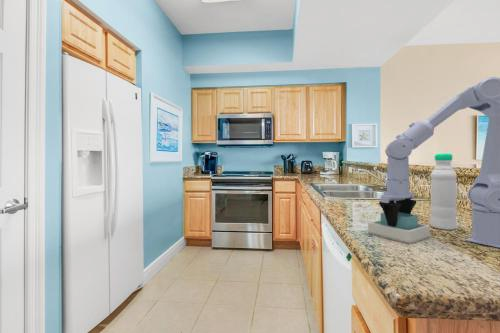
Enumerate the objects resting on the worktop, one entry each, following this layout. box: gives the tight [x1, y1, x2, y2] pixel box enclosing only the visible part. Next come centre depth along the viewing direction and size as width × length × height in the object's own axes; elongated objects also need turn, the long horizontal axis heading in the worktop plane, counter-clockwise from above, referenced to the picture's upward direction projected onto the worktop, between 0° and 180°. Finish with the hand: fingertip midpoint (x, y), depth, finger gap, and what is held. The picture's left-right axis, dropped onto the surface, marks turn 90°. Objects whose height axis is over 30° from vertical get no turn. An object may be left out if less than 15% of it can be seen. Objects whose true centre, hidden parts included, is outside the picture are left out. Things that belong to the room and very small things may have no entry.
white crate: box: [367, 219, 431, 245], centre depth 76 cm, size 11×12×4 cm
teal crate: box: [380, 211, 419, 231], centre depth 76 cm, size 6×8×6 cm
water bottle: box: [429, 153, 458, 231], centre depth 85 cm, size 7×7×25 cm
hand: (397, 224), depth 76 cm, fingers open, 6 cm apart
